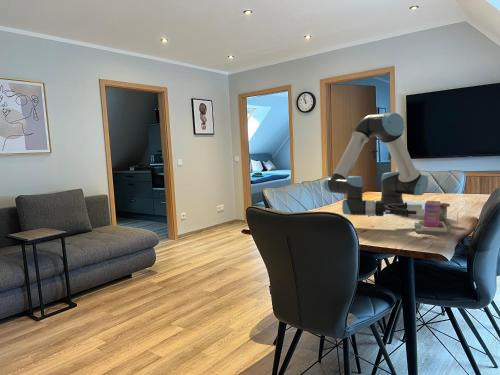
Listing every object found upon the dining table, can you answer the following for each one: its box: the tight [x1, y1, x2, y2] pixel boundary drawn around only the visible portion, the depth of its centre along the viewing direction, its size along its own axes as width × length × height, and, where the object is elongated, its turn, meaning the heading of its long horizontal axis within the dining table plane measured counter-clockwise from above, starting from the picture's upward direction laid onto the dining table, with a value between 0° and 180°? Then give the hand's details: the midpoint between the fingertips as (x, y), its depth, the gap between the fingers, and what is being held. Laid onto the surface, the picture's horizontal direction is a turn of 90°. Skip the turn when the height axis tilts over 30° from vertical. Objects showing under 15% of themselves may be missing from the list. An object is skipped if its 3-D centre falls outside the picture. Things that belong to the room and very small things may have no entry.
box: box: [423, 200, 441, 228], centre depth 170 cm, size 10×6×12 cm, turn 148°
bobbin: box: [439, 202, 451, 226], centre depth 182 cm, size 6×6×10 cm
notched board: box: [414, 219, 452, 235], centre depth 171 cm, size 14×17×3 cm
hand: (423, 209), depth 171 cm, fingers open, 13 cm apart
